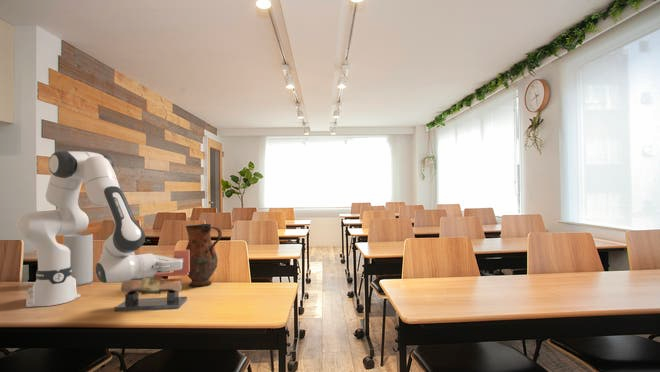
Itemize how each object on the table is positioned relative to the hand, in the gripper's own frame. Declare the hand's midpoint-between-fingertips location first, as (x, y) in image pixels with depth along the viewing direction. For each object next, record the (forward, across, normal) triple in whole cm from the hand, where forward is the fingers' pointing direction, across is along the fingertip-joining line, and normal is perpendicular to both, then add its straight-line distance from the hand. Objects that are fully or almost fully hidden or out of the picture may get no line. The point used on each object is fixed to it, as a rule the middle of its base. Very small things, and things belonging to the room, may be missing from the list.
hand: (181, 259), depth 146 cm
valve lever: (-3, +5, +7) cm, 9 cm away
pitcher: (+24, +23, +19) cm, 38 cm away
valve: (-7, +10, +18) cm, 22 cm away
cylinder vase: (-14, +78, +19) cm, 82 cm away
